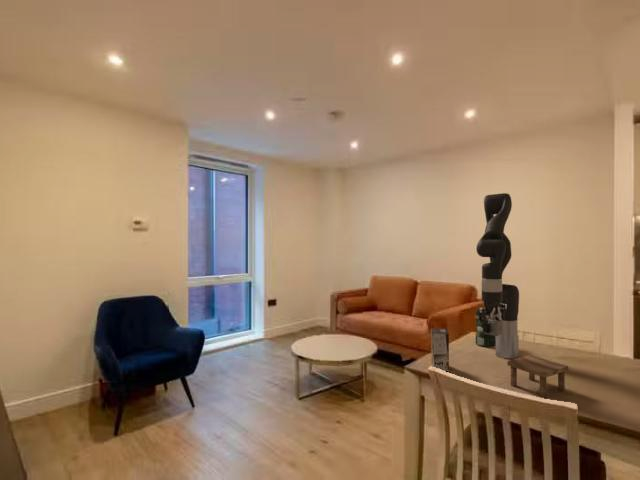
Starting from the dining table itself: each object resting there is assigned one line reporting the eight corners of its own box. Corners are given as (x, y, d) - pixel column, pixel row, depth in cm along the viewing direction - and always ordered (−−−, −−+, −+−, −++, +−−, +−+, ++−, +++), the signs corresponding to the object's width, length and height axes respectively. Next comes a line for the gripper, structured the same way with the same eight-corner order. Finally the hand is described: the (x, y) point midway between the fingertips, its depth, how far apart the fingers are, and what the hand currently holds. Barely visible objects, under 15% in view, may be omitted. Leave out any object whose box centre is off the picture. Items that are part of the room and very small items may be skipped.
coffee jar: (486, 341, 192) (485, 306, 192) (498, 345, 185) (498, 309, 185) (472, 343, 188) (472, 308, 188) (484, 348, 181) (484, 311, 181)
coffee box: (449, 372, 151) (449, 333, 150) (433, 371, 152) (432, 333, 152) (446, 364, 160) (446, 328, 159) (431, 363, 161) (430, 327, 161)
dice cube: (497, 336, 142) (497, 323, 142) (484, 333, 145) (484, 321, 145) (501, 333, 145) (501, 321, 145) (488, 331, 149) (488, 319, 149)
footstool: (530, 377, 144) (530, 354, 144) (568, 390, 132) (568, 366, 132) (507, 384, 138) (507, 361, 138) (544, 399, 125) (544, 373, 125)
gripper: (495, 286, 152) (495, 327, 152) (471, 290, 145) (472, 332, 145) (512, 289, 145) (512, 331, 145) (487, 292, 138) (488, 336, 139)
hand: (492, 331), depth 145 cm, fingers closed on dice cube, 5 cm apart
